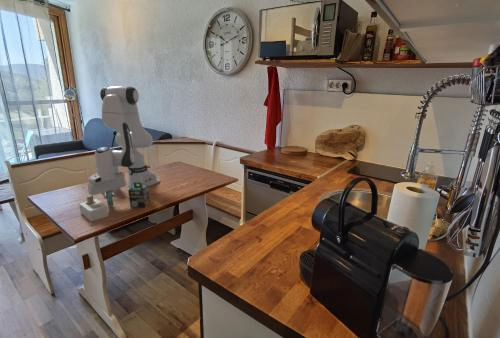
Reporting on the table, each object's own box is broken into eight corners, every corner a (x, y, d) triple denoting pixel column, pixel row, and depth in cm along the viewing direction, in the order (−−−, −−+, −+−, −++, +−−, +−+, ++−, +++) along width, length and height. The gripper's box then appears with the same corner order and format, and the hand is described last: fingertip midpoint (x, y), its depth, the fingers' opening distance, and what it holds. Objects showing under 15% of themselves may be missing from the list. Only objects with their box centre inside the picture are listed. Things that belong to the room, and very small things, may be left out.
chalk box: (150, 201, 168) (148, 179, 164) (145, 207, 160) (143, 184, 155) (135, 201, 168) (133, 179, 163) (129, 207, 159) (127, 184, 155)
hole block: (97, 208, 157) (96, 198, 155) (108, 215, 148) (107, 205, 147) (80, 213, 150) (79, 203, 148) (91, 221, 142) (89, 211, 140)
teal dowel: (111, 203, 161) (109, 188, 158) (114, 205, 159) (112, 189, 156) (106, 205, 158) (104, 189, 156) (109, 206, 157) (106, 191, 154)
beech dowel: (93, 211, 153) (91, 195, 150) (96, 212, 151) (93, 196, 148) (88, 212, 151) (85, 196, 148) (90, 214, 149) (87, 198, 146)
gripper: (121, 170, 162) (124, 190, 167) (85, 178, 147) (89, 201, 151) (126, 172, 159) (129, 193, 163) (90, 181, 143) (93, 204, 148)
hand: (109, 197), depth 157 cm, fingers closed on teal dowel, 3 cm apart
